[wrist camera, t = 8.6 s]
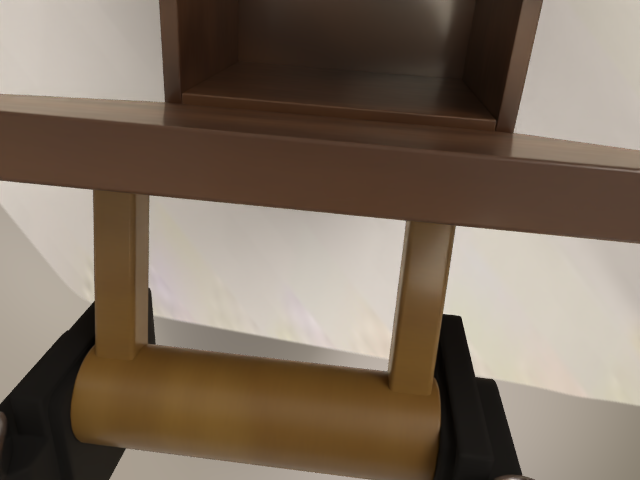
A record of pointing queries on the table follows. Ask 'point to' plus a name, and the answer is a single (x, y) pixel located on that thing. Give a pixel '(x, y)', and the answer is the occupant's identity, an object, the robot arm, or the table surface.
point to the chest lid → (298, 194)
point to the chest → (353, 58)
